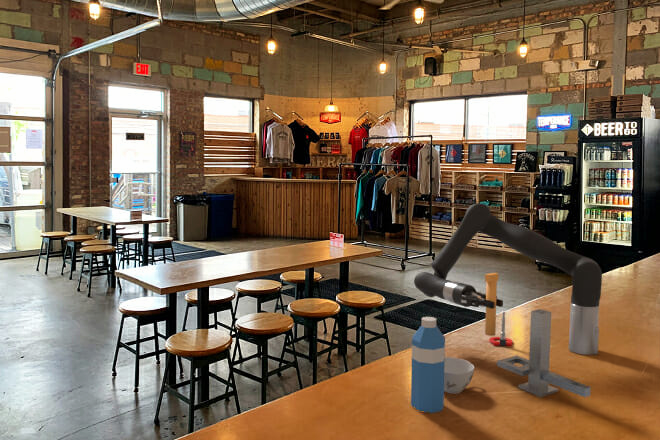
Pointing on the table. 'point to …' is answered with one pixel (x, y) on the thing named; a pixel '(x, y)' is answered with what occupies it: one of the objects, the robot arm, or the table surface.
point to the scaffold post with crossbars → (541, 362)
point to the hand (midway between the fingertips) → (497, 304)
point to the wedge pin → (491, 295)
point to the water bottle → (428, 367)
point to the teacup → (457, 374)
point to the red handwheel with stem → (502, 336)
